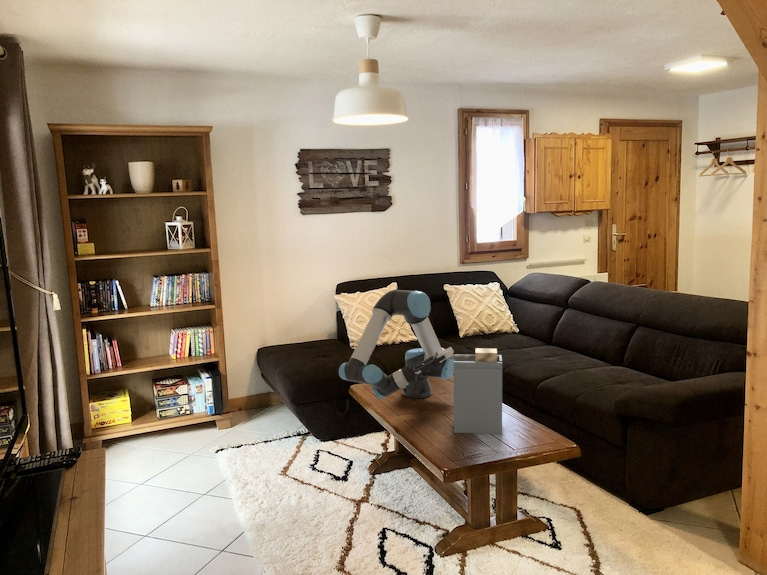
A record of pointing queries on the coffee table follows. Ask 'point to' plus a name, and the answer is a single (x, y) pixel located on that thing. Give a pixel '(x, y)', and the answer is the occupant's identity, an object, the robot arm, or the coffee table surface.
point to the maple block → (477, 355)
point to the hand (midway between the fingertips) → (452, 350)
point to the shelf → (478, 396)
